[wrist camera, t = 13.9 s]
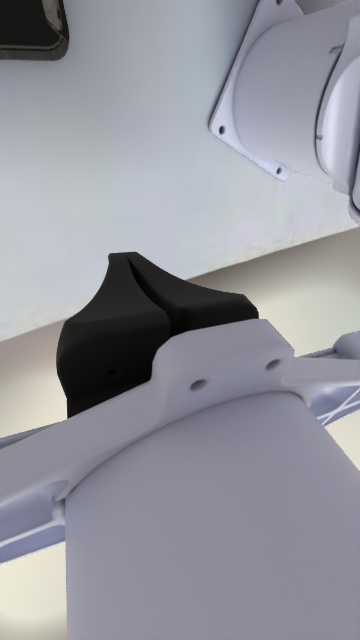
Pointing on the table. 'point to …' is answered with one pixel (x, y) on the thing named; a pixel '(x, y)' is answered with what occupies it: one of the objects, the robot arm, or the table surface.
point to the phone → (33, 30)
